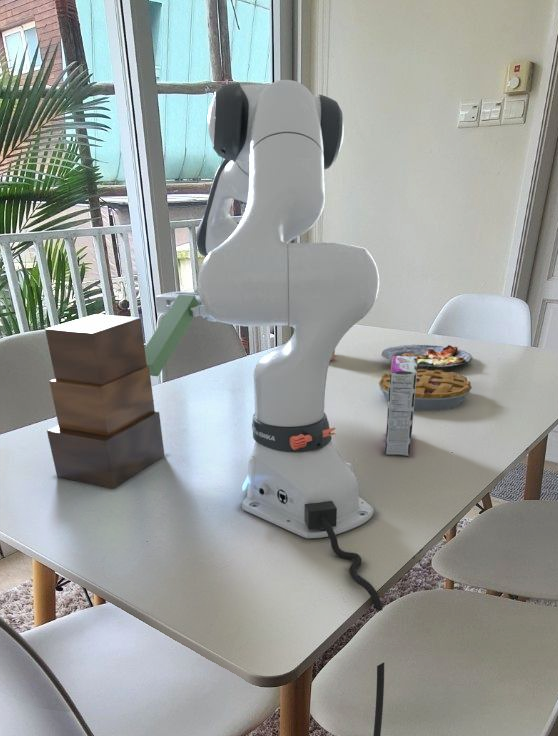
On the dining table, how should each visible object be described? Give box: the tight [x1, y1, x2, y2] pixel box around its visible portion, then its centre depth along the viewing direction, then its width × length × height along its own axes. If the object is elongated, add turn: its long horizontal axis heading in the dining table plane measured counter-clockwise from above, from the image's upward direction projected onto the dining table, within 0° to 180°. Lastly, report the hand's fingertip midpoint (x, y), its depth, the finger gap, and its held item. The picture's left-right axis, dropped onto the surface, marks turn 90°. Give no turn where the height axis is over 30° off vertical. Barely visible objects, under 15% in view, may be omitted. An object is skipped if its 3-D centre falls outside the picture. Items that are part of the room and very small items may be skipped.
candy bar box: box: [384, 356, 418, 457], centre depth 119 cm, size 11×5×16 cm, turn 168°
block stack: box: [44, 313, 165, 489], centre depth 111 cm, size 16×13×26 cm
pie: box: [377, 368, 473, 411], centre depth 148 cm, size 22×22×5 cm
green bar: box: [144, 295, 199, 377], centre depth 126 cm, size 20×4×3 cm, turn 155°
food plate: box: [381, 344, 473, 369], centre depth 175 cm, size 25×23×4 cm
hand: (180, 311), depth 128 cm, fingers closed on green bar, 4 cm apart
